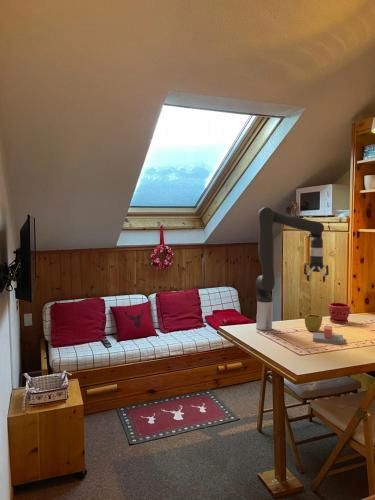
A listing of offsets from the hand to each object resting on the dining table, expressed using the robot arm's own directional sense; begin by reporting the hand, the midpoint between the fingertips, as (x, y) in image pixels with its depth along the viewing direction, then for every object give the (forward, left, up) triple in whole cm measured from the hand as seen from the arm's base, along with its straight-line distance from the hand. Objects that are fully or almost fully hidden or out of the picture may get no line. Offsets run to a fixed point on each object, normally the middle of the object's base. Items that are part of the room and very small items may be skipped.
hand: (315, 281), depth 243 cm
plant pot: (+15, +27, -30) cm, 43 cm away
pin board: (+7, -19, -30) cm, 36 cm away
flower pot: (-1, 0, -30) cm, 30 cm away
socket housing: (+7, -19, -28) cm, 35 cm away
